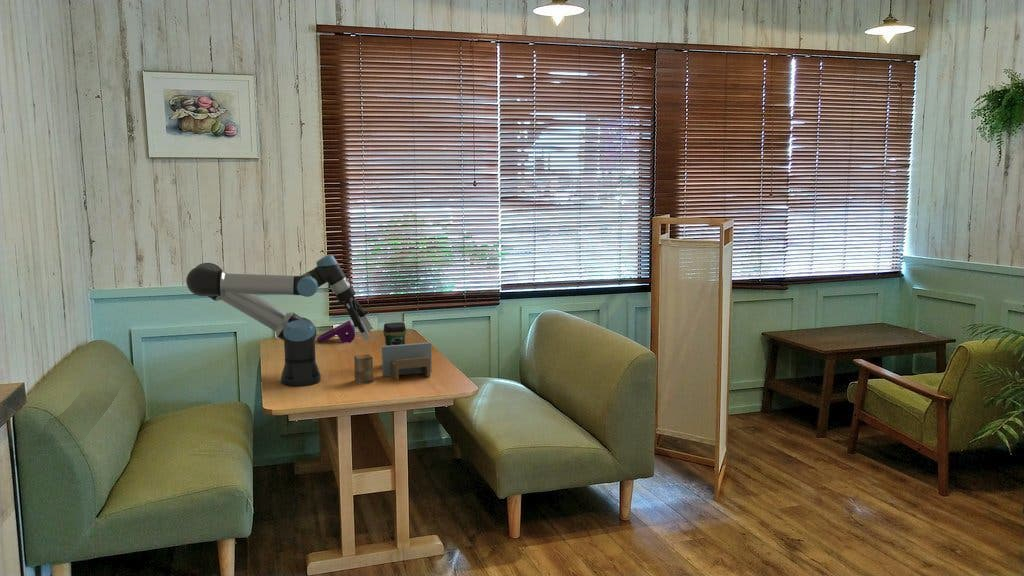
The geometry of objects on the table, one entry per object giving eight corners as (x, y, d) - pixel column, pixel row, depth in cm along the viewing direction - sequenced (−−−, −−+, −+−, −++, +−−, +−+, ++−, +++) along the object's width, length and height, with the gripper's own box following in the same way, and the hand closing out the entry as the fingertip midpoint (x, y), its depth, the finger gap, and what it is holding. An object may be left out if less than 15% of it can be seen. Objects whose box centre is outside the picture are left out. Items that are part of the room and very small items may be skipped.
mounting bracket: (324, 355, 381) (357, 338, 383) (316, 340, 379) (349, 323, 381) (325, 351, 390) (357, 334, 392) (317, 336, 388) (349, 320, 390)
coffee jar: (405, 362, 340) (404, 320, 337) (408, 366, 332) (407, 323, 330) (382, 364, 337) (381, 321, 334) (386, 368, 329) (384, 324, 327)
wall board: (388, 381, 308) (387, 351, 306) (382, 375, 317) (381, 346, 316) (437, 376, 315) (437, 347, 313) (430, 370, 325) (429, 342, 323)
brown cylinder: (357, 384, 304) (357, 358, 302) (354, 380, 309) (354, 355, 308) (373, 382, 306) (372, 357, 304) (370, 378, 311) (369, 354, 310)
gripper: (347, 292, 307) (374, 337, 312) (354, 280, 331) (379, 322, 336) (330, 301, 307) (358, 346, 312) (338, 288, 332) (364, 330, 336)
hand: (369, 334), depth 324 cm, fingers open, 13 cm apart
